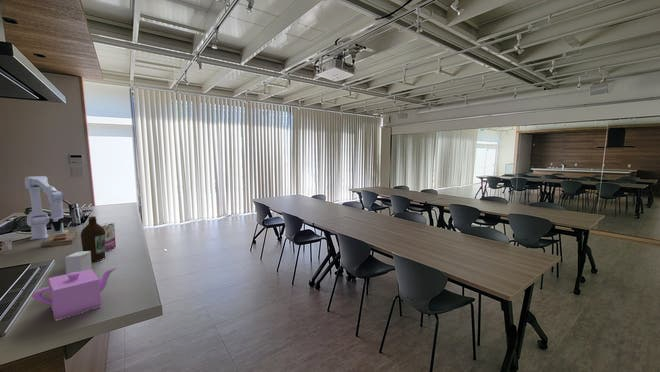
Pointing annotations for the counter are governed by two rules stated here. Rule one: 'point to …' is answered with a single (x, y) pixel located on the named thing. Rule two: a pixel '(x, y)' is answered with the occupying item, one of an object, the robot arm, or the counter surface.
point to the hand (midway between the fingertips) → (58, 230)
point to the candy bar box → (109, 235)
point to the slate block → (57, 231)
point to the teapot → (73, 292)
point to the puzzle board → (60, 239)
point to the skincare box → (78, 262)
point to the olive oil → (94, 239)
